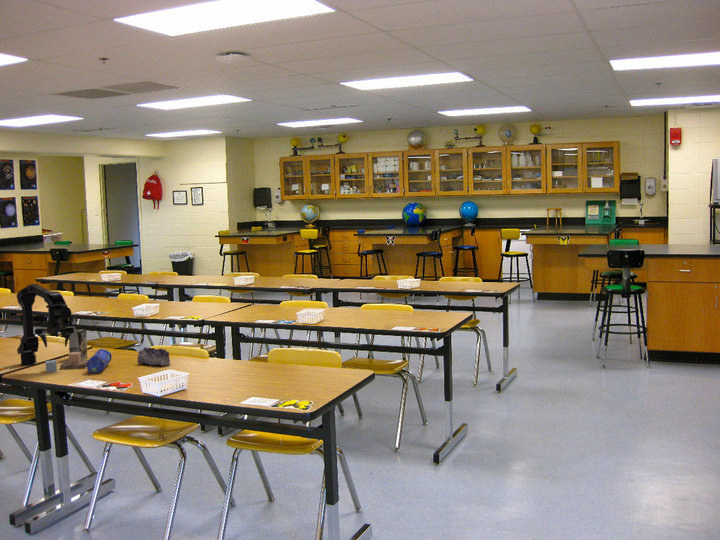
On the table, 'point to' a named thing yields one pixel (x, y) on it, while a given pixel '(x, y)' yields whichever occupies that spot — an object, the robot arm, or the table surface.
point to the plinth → (74, 365)
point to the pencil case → (99, 361)
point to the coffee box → (78, 343)
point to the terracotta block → (74, 357)
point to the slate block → (51, 366)
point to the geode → (154, 357)
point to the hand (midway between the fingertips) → (56, 347)
